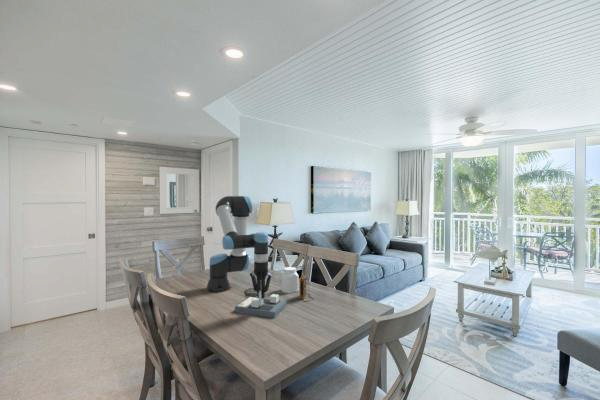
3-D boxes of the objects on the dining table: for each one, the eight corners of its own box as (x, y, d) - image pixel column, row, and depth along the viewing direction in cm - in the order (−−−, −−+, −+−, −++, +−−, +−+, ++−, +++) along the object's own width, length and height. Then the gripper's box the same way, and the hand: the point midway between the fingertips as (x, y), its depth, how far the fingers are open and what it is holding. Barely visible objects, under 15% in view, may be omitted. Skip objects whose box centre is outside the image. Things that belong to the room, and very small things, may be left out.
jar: (293, 287, 196) (293, 265, 196) (300, 291, 188) (301, 268, 188) (279, 290, 190) (279, 268, 190) (286, 294, 182) (286, 271, 182)
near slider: (251, 306, 152) (251, 300, 152) (254, 304, 156) (254, 297, 156) (258, 307, 151) (258, 301, 151) (261, 305, 154) (261, 298, 154)
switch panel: (235, 311, 153) (235, 305, 153) (249, 301, 169) (249, 296, 169) (274, 317, 146) (274, 311, 146) (286, 306, 161) (286, 300, 161)
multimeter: (314, 302, 167) (314, 269, 167) (298, 301, 169) (298, 268, 169) (318, 294, 181) (318, 263, 181) (303, 293, 183) (303, 263, 183)
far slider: (269, 302, 158) (269, 296, 158) (272, 300, 162) (272, 294, 162) (276, 303, 157) (276, 297, 157) (278, 300, 161) (278, 294, 161)
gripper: (247, 261, 151) (247, 305, 151) (268, 263, 146) (268, 308, 147) (253, 258, 158) (253, 300, 158) (274, 260, 154) (274, 303, 154)
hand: (261, 304), depth 152 cm, fingers closed
